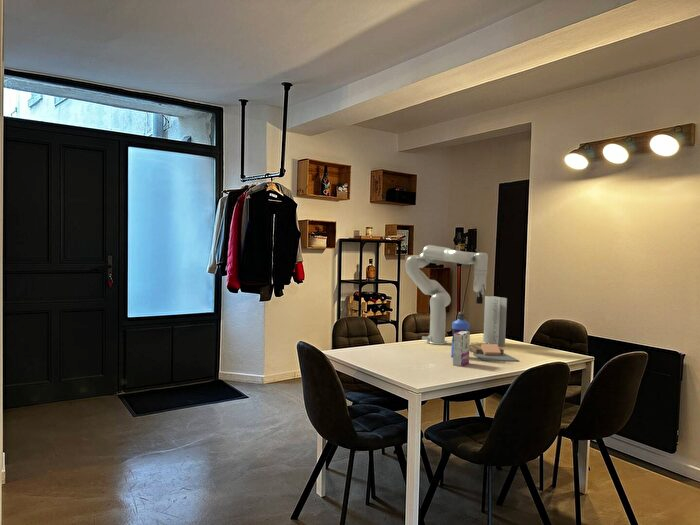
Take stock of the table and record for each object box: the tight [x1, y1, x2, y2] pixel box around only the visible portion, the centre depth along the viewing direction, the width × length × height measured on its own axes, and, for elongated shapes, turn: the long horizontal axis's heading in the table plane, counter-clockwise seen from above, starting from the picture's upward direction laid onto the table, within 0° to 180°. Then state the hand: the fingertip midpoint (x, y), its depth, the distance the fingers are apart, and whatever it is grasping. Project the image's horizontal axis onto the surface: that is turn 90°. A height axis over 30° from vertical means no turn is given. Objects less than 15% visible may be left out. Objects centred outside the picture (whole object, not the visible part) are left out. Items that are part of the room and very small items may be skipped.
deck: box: [469, 344, 505, 354], centre depth 305 cm, size 16×13×3 cm
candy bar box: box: [452, 331, 471, 368], centre depth 271 cm, size 11×5×16 cm, turn 148°
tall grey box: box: [482, 295, 508, 347], centre depth 336 cm, size 14×6×30 cm, turn 25°
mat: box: [472, 353, 520, 362], centre depth 290 cm, size 20×16×1 cm
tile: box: [480, 343, 501, 356], centre depth 297 cm, size 9×7×2 cm
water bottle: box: [450, 311, 471, 359], centre depth 289 cm, size 9×9×25 cm
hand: (479, 303), depth 319 cm, fingers closed
